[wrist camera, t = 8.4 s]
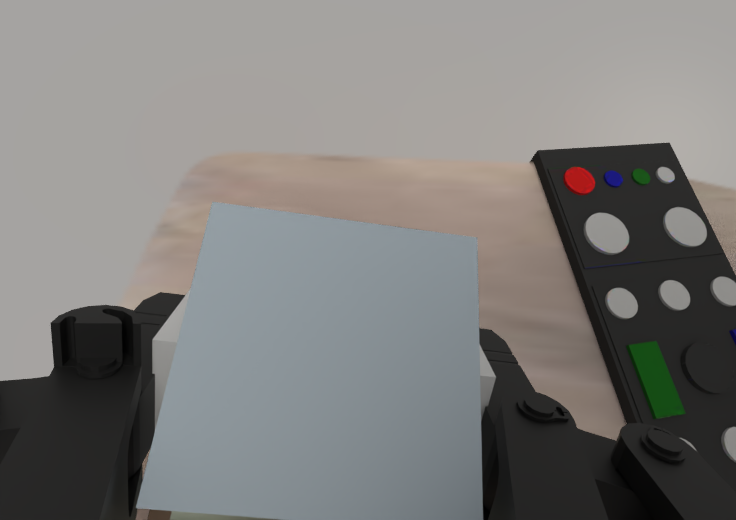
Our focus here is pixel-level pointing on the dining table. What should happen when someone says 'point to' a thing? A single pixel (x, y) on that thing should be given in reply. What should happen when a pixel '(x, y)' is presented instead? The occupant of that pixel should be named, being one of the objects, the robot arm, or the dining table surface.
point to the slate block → (323, 374)
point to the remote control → (652, 289)
